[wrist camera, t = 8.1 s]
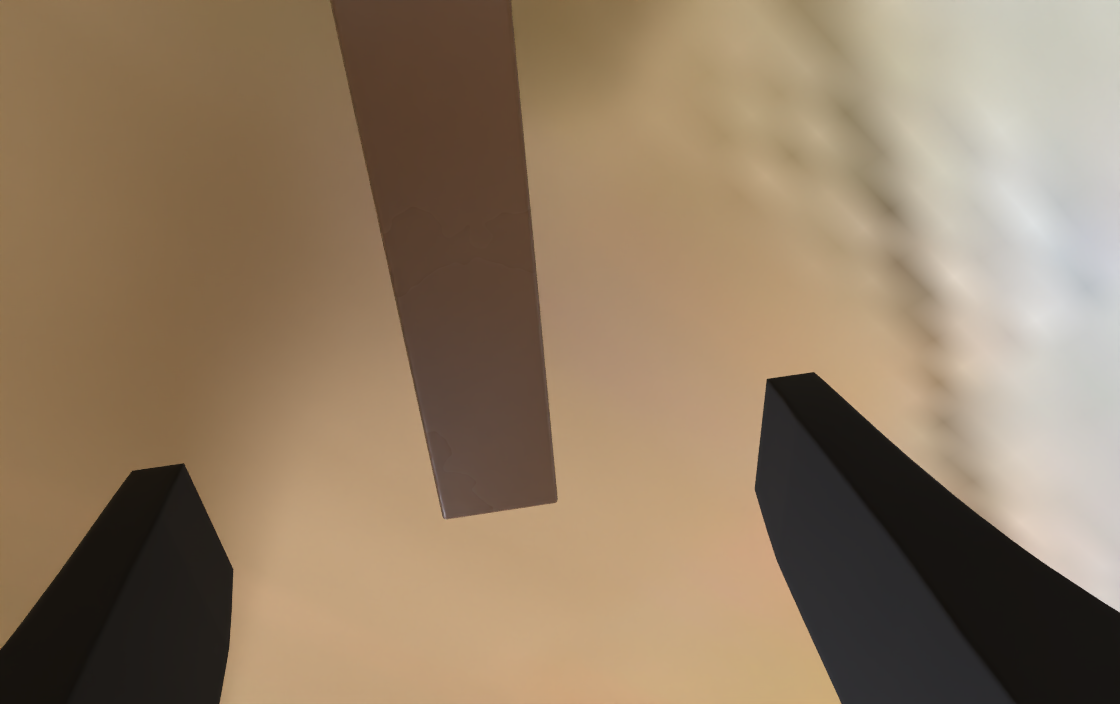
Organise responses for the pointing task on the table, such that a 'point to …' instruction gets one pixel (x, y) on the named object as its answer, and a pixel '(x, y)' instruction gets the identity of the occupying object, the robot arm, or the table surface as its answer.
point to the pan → (457, 237)
